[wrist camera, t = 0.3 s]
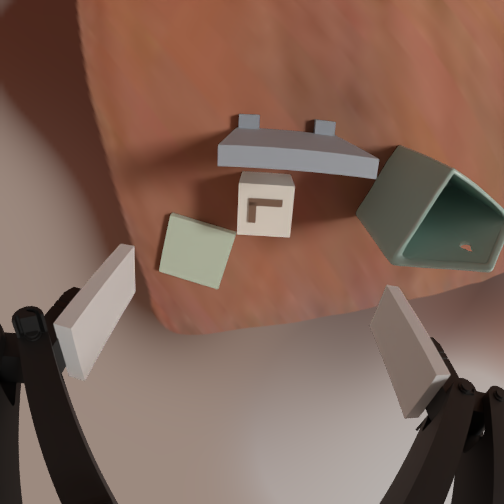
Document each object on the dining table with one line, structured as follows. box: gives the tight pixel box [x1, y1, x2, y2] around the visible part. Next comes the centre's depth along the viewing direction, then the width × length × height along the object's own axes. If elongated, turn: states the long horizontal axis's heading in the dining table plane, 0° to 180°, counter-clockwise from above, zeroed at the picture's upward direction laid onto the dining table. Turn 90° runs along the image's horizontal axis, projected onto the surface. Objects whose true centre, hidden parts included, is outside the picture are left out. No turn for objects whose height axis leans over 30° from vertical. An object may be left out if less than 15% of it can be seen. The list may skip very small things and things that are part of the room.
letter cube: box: [237, 171, 295, 238], centre depth 37 cm, size 6×6×6 cm
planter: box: [356, 145, 504, 272], centre depth 29 cm, size 16×8×20 cm, turn 110°
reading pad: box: [159, 213, 236, 289], centre depth 43 cm, size 9×9×1 cm
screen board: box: [218, 114, 379, 179], centre depth 29 cm, size 12×5×16 cm, turn 87°
